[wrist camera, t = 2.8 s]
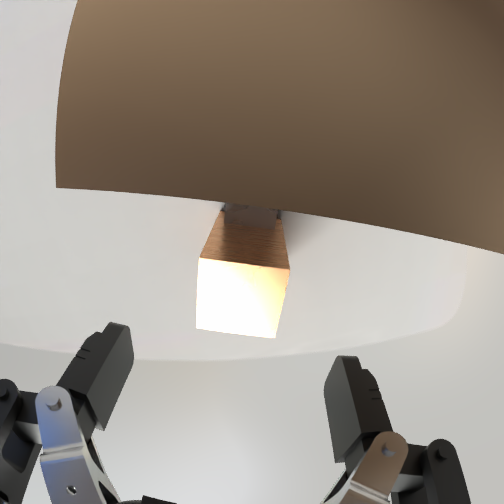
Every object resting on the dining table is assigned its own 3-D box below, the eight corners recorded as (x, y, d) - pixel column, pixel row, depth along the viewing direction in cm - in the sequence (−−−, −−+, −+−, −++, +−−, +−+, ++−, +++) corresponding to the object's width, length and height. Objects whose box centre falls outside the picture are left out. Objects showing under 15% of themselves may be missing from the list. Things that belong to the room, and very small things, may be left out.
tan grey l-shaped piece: (238, 63, 15) (224, 28, 8) (303, 72, 15) (329, 42, 8) (215, 264, 21) (196, 327, 14) (271, 272, 21) (274, 338, 14)
